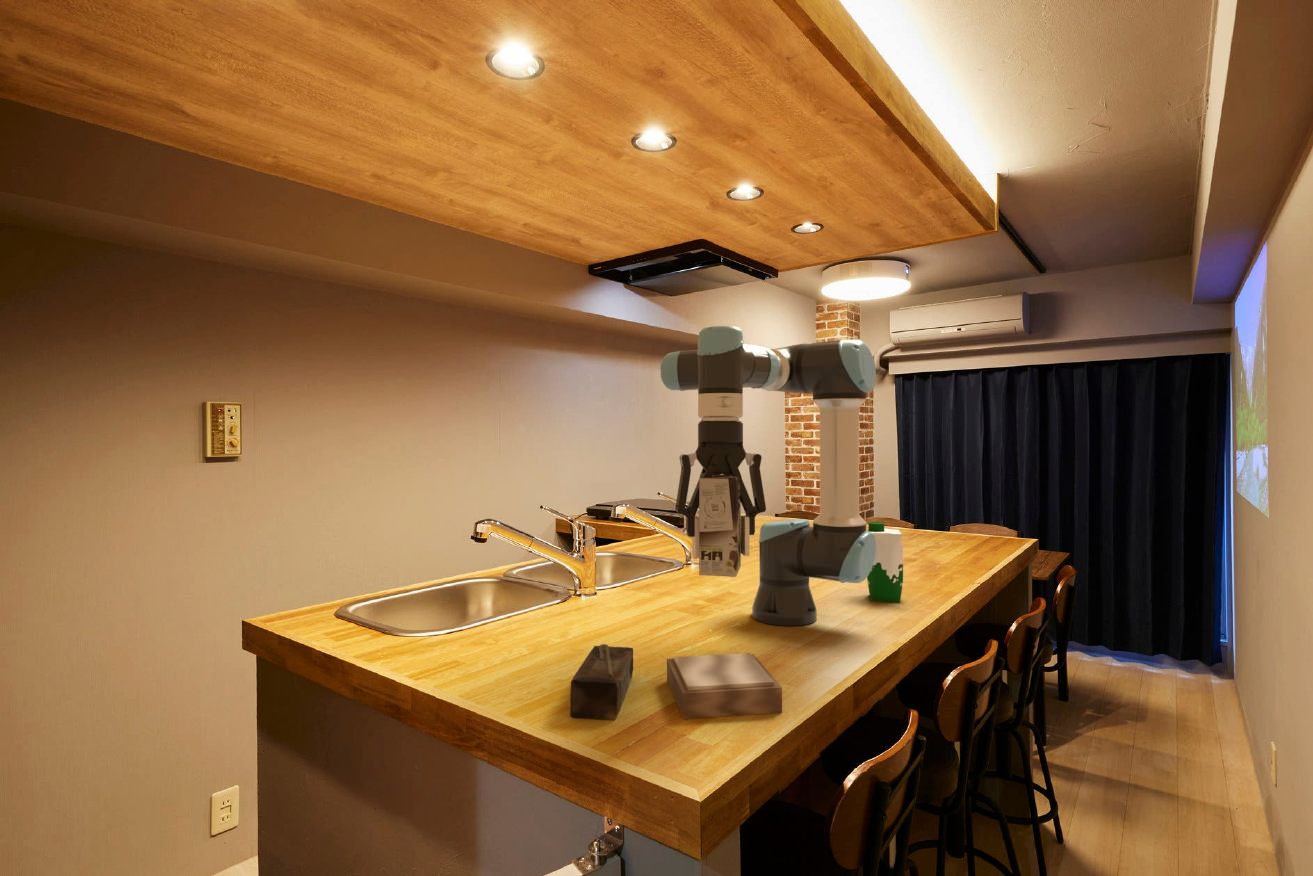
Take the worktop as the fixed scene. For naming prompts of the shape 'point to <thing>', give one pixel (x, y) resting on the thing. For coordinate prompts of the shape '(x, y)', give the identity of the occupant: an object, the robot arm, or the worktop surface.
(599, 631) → the worktop surface
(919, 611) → the worktop surface
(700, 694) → the shelf riser
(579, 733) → the worktop surface
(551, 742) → the worktop surface
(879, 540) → the milk carton
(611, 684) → the beverage carton
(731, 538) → the coffee box
